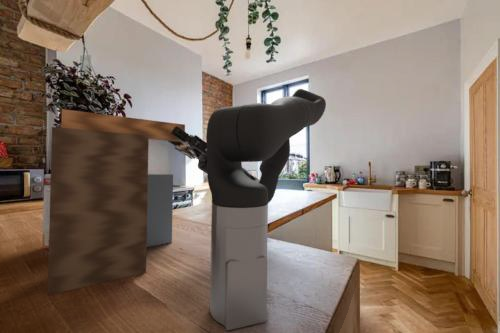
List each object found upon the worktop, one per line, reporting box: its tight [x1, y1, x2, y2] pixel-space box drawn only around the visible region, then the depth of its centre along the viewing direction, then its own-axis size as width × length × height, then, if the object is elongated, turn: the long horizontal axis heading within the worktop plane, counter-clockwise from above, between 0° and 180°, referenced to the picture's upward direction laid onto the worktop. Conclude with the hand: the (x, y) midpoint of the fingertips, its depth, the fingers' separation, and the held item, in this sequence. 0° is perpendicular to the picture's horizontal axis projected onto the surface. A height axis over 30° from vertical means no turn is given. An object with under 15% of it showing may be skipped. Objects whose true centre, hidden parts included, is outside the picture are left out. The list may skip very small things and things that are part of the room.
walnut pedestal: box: [47, 126, 150, 296], centre depth 48 cm, size 16×10×30 cm, turn 124°
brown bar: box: [60, 108, 186, 142], centre depth 51 cm, size 24×4×4 cm, turn 124°
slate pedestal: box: [146, 173, 174, 248], centre depth 68 cm, size 16×10×21 cm, turn 124°
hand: (168, 131), depth 56 cm, fingers open, 8 cm apart
